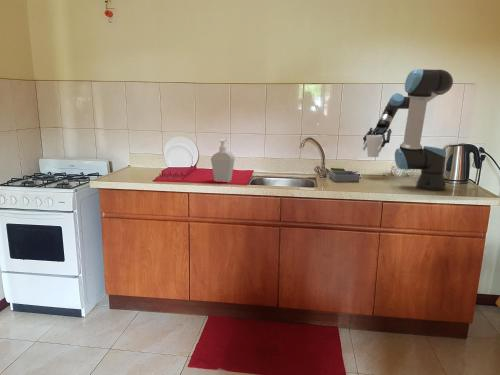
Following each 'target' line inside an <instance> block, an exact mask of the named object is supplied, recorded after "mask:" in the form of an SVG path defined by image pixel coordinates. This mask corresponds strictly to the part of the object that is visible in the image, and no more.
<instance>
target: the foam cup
mask: <svg viewBox="0 0 500 375" xmlns="http://www.w3.org/2000/svg"><path fill="white" fill-rule="evenodd" d="M365 135H366V134H365ZM366 139H367V147H366V152H367V157H369V158H378V157H379V156H380V152H379V151H378V147H379V145H380V143H381V141H383V138H382V135H366Z"/></svg>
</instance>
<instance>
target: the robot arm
mask: <svg viewBox="0 0 500 375" xmlns="http://www.w3.org/2000/svg"><path fill="white" fill-rule="evenodd" d="M453 84H454V78H453V75H451V73H450V72H448V71H447V70H444V69H425V68H423V69H422V68H421V69H419V68H418V69H412V70H411V71H410V72H409V73H408V75H407V76H406V79H405V82H404V91H405V93H407V96H404V95H403V94H402V93H400V92H399V93H398V92H396V93H393V94H392V95H391V97H390V98H389V100H388V102H387V104H386V105H387V106H386V105H385V108H384V110H383V111H382V114H381V116H380V117H379V119H378V122H377V123H376V126H375V127H374V128H373V127H370V128H369V130H368V131H367V133H366V134H365V135H364V136H363V137H362V141H363V145H362V150H363V151H366V150H367V139H366V135H381V136H382V141H381V143H380V145H379V147H378V151H379V153H381V151H382V149H383V148H385V145H386V144H389V143H390V139H391V134H392V129H391V128H390V126H391V124H392V121H393V119H394V118H395V116H396V113H397V112H398V110H407V111H408V112H407V117H406V123H405V128H404V137H403V142H402V143H400V144H399V147H398V148H396V149H395V151H394V161H395V162H394V163H395V165H396V167H397V168H398V169H400V170H405V171H406V170H421V171H420V174H419V177H418V179H417V182H416V188H418V189H422V190H428V191H444V190H446V181H445V180H446V179H445V176H444V175H445V174H444V173H445V166H446V158H447V151H446V149H445V148H440V147H436V146H435V147H434V146H430V145H429V146H428V145H425V146H422V144H421V141H422V140H421V139H422V135H423V128H424V122H425V118H426V112H427V111H426V110H427V107H428V106H427V105H428V102H430V101H432V100H434V99H435V98H436V97H439V96H442V95H445V94H446V93H448V92H449V91H450V90H451V88H452V87H453ZM385 133H387V134H386V135H385Z"/></svg>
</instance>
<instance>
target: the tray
mask: <svg viewBox="0 0 500 375" xmlns="http://www.w3.org/2000/svg"><path fill="white" fill-rule="evenodd" d="M328 178H329V179H330V180H331V181H333V182H334V183H359V182H360V174H358V173H357V172H354V171H353V170H329V177H328Z"/></svg>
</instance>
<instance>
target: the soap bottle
mask: <svg viewBox="0 0 500 375" xmlns="http://www.w3.org/2000/svg"><path fill="white" fill-rule="evenodd" d="M218 142H219V143H220V146H219V147H218V148H219V150H218V152H216V153H214V154H213V155H212V156H211V158H210V162H211V167H212V169H211V170H212V175H213V180H214V182H215V181H223V182H229V181H230V180H231V181H232V177H233V171H234V164H235V155H233V153H232V152H229V151H227V146H225V142H227V138H220V139H219V140H218ZM231 181H230V182H231ZM230 182H229V183H230Z"/></svg>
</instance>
